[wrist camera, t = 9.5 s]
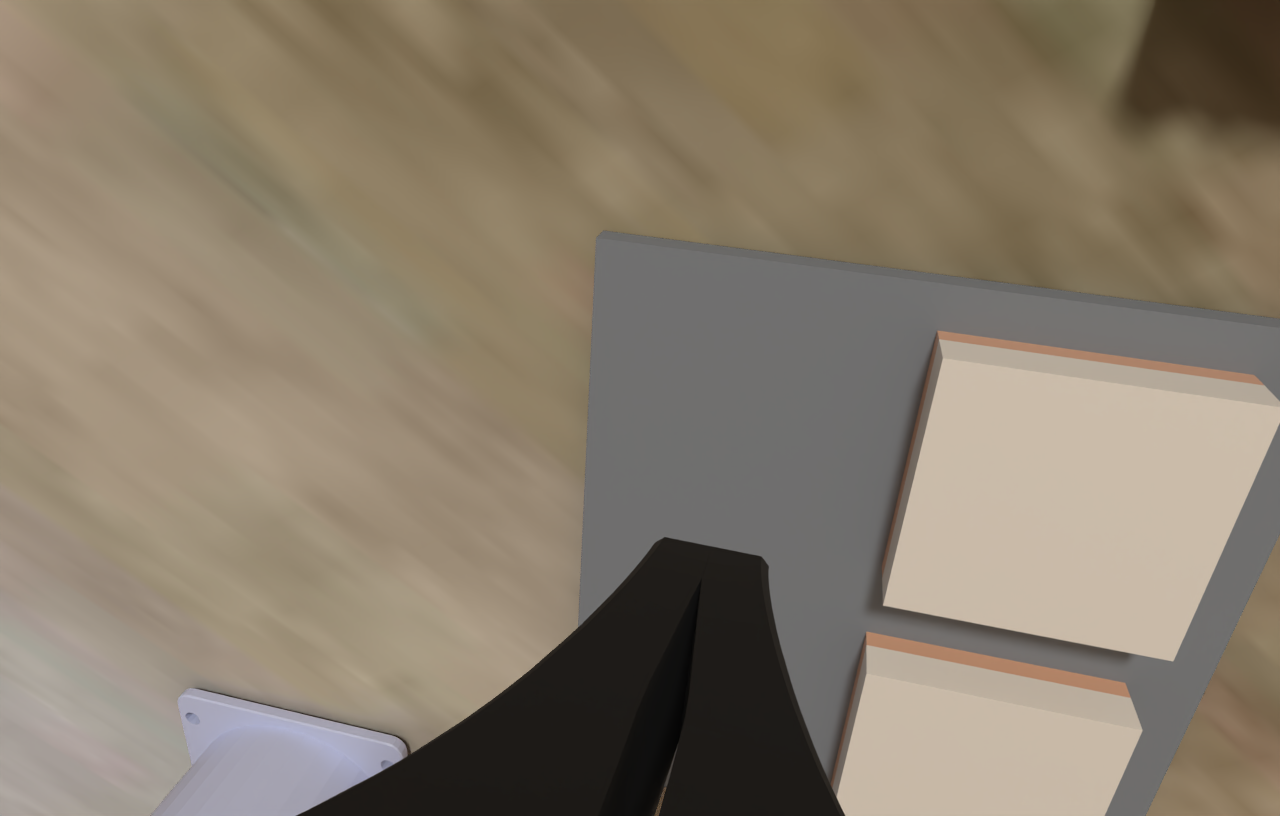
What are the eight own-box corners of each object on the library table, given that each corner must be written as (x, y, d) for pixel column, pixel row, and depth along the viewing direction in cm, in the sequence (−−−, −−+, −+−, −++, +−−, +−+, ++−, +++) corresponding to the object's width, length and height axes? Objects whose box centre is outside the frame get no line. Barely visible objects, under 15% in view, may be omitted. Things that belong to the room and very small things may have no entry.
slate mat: (1104, 871, 24) (1109, 891, 24) (577, 749, 27) (571, 764, 26) (1356, 328, 17) (1372, 340, 17) (603, 230, 20) (596, 238, 19)
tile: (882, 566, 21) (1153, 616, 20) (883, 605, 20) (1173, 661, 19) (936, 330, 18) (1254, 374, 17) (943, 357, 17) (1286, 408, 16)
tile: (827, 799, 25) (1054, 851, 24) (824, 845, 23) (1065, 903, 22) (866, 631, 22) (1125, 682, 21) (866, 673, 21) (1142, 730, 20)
